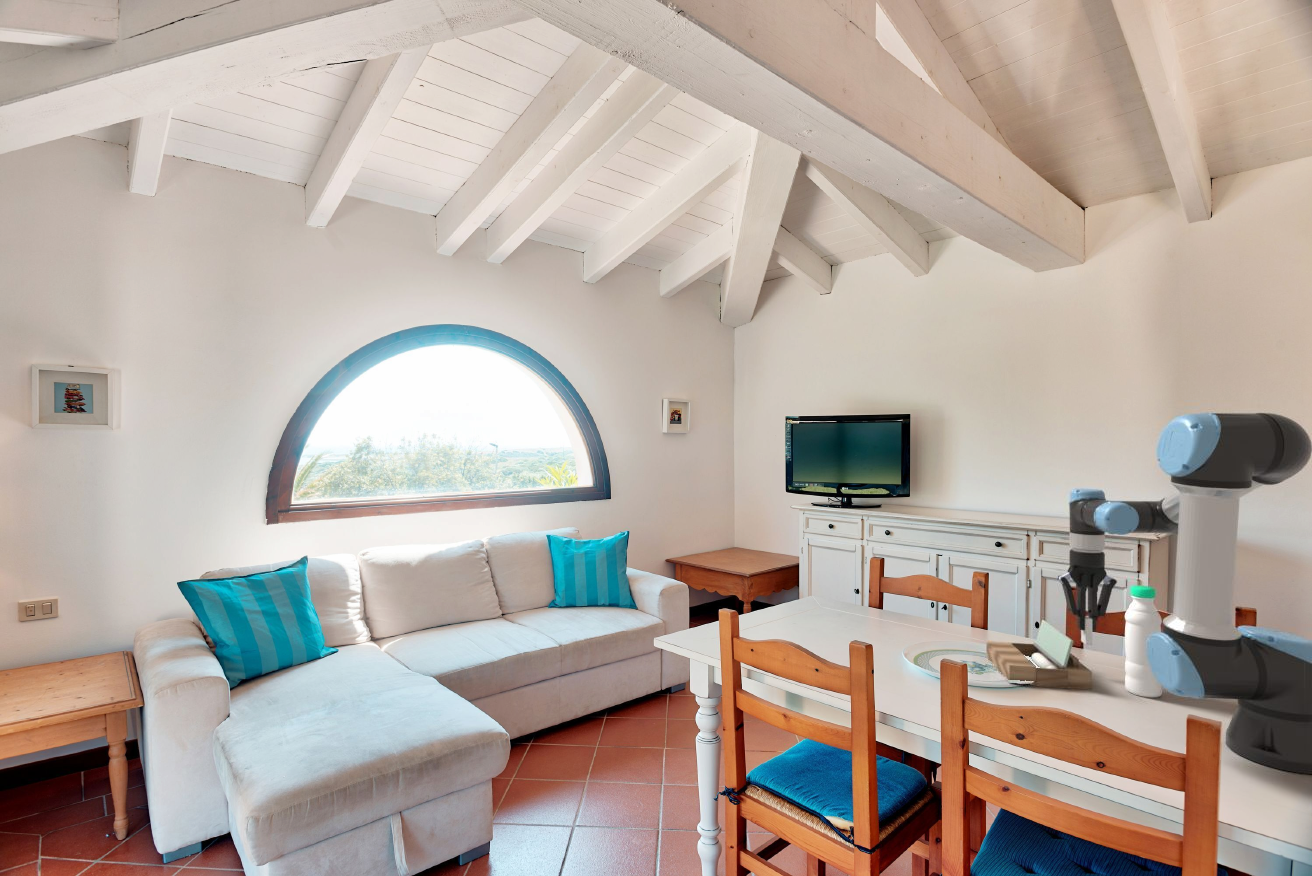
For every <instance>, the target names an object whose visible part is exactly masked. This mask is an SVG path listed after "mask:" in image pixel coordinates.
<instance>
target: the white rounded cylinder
mask: <svg viewBox="0 0 1312 876" xmlns="http://www.w3.org/2000/svg"><path fill="white" fill-rule="evenodd" d="M1031 659H1032V661H1033V662H1034V663H1035V664H1036V665H1037V666H1038V667H1040V668H1049V669H1058V668H1057V667H1055V666H1054V665H1053V664H1052V663H1051V662H1050V661H1049V660H1047V659H1046V658H1045V657H1044V656H1043V655H1042V654H1040V653H1034V654H1033V655H1032V657H1031Z"/></svg>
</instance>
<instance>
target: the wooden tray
mask: <svg viewBox="0 0 1312 876" xmlns="http://www.w3.org/2000/svg"><path fill="white" fill-rule="evenodd" d="M985 642H986V645H985V646H986V654H985V656H986V659H987V658H988V659H987V660H988V661H989V660H990V661H991V662H992V663H993V664H994V665H995V667H996V668H997V669H998V670H999V671H1000V672H1001V673H1000V672H999V671H998V670H997V669H996V668H995V667H994V668H995V669H996V670H997V671H998V672H999V673H1000V674H1001V675H1002V674H1003V676H1004V677H1006V678H1007V679H1008V680H1020V681H1025V680H1026V681H1034V682H1033V683H1032V684H1030V685H1029V686H1036V687H1043V688H1044V687H1045V688H1056V689H1057V688H1060V689H1083V690H1092V670H1091V669H1090V668H1088V667H1087V666H1085V665H1084V664H1083V663H1082V662H1080V659H1079V658H1077V657H1076V656H1075V655H1074V654H1072V653H1071V652H1070V655H1069V658H1068V662H1067V665H1066V668H1065V669H1061V668H1059V667H1058V666H1057V665H1056V664H1055V663H1054V662H1052V661H1051V660H1050V659H1049V658H1048V657H1047V656H1045V655H1044V654H1043V653H1042V652H1041V651H1040V650H1038V649H1037V648H1036V647H1035V646H1034V645H1033V643H1023V642H1022V643H1020V642H1009V641H1008V642H1007V641H993V640H986V641H985ZM1034 653H1040V654H1042V655H1043V656H1044V657H1045V658H1046V659H1047V660H1049V661H1050V662H1051V663H1052V664H1053V665H1054V666H1055V667H1057V668H1058V669H1049V668H1036V666H1035V665H1034V664H1033V663H1032V662H1031V661H1030V660H1028V659H1027V658H1026V657H1025V656H1029V657H1032V655H1033V654H1034ZM1024 655H1025V656H1024ZM990 661H989V662H990ZM991 662H990V663H991ZM992 663H991V664H992ZM993 664H992V665H993ZM994 665H993V666H994ZM1003 676H1002V677H1003ZM1004 677H1003V678H1004Z"/></svg>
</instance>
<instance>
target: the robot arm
mask: <svg viewBox="0 0 1312 876" xmlns="http://www.w3.org/2000/svg"><path fill="white" fill-rule="evenodd" d="M1311 455H1312V440H1311V438H1310V436H1309V434H1308V433H1307V431H1306V430H1305V429H1304V428H1303V426H1301V425H1300V424H1299V423H1297V421H1295V420H1294V419H1291V418H1289V417H1287V416H1284V415H1282V414H1277V413H1271V412H1270V413H1269V412H1256V413H1253V412H1252V413H1249V412H1248V413H1246V412H1243V413H1242V412H1237V413H1235V412H1232V413H1231V412H1229V413H1228V412H1227V413H1226V412H1225V413H1223V412H1220V413H1219V412H1214V413H1213V412H1200V413H1188V414H1183V415H1182V414H1181V415H1180V416H1177V417H1175V418H1173V419H1172V420H1171V421H1170V422H1169V423H1168V424H1166V426H1165V427H1164V428H1163V430H1162V431H1161V433H1160V435H1159V438H1158V441H1157V447H1156V459H1157V462H1159V467H1160V469H1161V470H1162V472H1164V473H1165V474H1166V475H1168V476H1170V484H1171V485H1172V486H1173V487H1174V488H1176V489H1177V490H1175V491H1174V492H1172V493H1170V494H1169V495H1167V496H1165V497H1164V498H1161V499H1160V500H1154V501H1153V500H1144V501H1143V500H1142V501H1141V500H1140V501H1139V500H1108V499H1106V495H1105V492H1104V491H1103V490H1102V489H1098V488H1073V489H1072V490H1070V493H1069V494H1070V495H1069V501H1068V505H1069V506H1068V507H1069V547H1070V548H1071V549H1070V550H1069V557H1068V558H1069V559H1068V560H1069V563H1068V564H1069V568H1068V569H1067V573H1065V574H1063V575H1060V574H1059V575H1058V576H1057V580H1058V581H1059V582H1060V584H1061V586H1062V590H1063V593H1064V598H1065V601H1066V606H1067V608H1068V609H1067V610H1068V612H1069V613H1071V614H1072V615H1074V616H1076V618H1077V619H1076V620H1077V623H1076V624H1077V626H1076V627H1077V628H1078V630H1080V636H1081V637H1080V641H1081V643H1083V644H1085V645H1087V646H1088V645H1089V646H1090V645H1091V646H1092V645H1093V632H1095V631H1097V620H1098V619H1099V617H1105V616H1106V612H1107V610H1108V607H1109V606H1108V605H1109V603H1110V598H1111V594H1112V591H1113V588H1114V587H1115V586H1116V584H1117V583H1118V581H1117V580H1116V579H1115V578H1113V577H1111V576H1109V575H1108V574H1107V571H1106V569H1105V566H1106V561H1105V560H1106V559H1105V557H1106V553H1105V552H1104V550H1106V537H1105V536H1106V535H1105V534H1106V533H1108V534H1109V535H1118V536H1124V535H1125V536H1126V535H1128V534H1171V535H1177V541H1176V559H1175V574H1174V575H1175V576H1174V577H1175V578H1174V592H1173V593H1174V594H1173V611H1172V613H1171V614H1170V615H1168V616H1166V617H1164V618H1163V619H1162V628H1161V632H1157V633H1154V634H1151V635H1150V637H1149V638H1148V640H1147V644H1146V652H1147V658H1148V662H1149V665H1150V667H1151V670H1152V672H1153V673H1154V675H1155V677H1156V679H1157V680H1158V682H1159V683H1160V684H1161V685H1162V688H1164V689H1165V691H1167V692H1169V693H1170V694H1172V695H1175V696H1177V697H1183V698H1184V697H1185V698H1192V699H1196V700H1201V699H1214V700H1216V699H1217V700H1219V699H1220V700H1237V703H1236V704H1237V705H1236V706H1237V707H1236V709H1235V711H1234V713H1233V715H1232V717H1231V719H1230V721H1229V722H1230V723H1228V726H1227V728H1226V731H1225V745H1226V746H1227V748H1229V750H1231V751H1232V752H1233V753H1235V754H1237V755H1239V756H1242V757H1243V758H1245V759H1247V760H1249V761H1253V762H1255V763H1257V764H1260V765H1264V766H1267V767H1270V768H1274V769H1278V770H1283V771H1287V772H1293V773H1297V774H1305V775H1312V640H1309V639H1307V638H1304V637H1302V636H1299V635H1294V634H1292V633H1287V632H1284V631H1283V632H1282V631H1279V630H1274V629H1270V628H1266V627H1260V626H1259V627H1258V626H1252V625H1240V626H1237V627H1236V626H1235V625H1234V624H1233V623H1232V618H1233V617H1232V616H1233V604H1234V603H1233V602H1234V589H1235V588H1234V587H1235V585H1234V584H1235V573H1236V556H1237V543H1238V541H1237V540H1238V525H1239V514H1240V513H1239V512H1240V500H1241V499H1240V498H1242V497H1244V496H1246V495H1248V494H1249V493H1251V492H1253V491H1255V490H1256V489H1259V488H1261V487H1262V486H1274V485H1278V484H1280V483H1282V482H1284V481H1286V480H1288V479H1290V478H1292V477H1294V476H1295V475H1296V474H1299V472H1301V471H1302V470H1303V469H1304V468H1305V467H1306V466H1307V464H1308V463H1309V461H1310V459H1311V457H1312V456H1311ZM1071 581H1073V582H1074V584H1075V589H1076V599H1075V596H1074V592H1073V589H1072V585H1071V584H1070V583H1071ZM1102 582H1103V584H1102V587H1101V591H1100V594H1099V598H1098V592H1099V586H1100V584H1101V583H1102ZM1086 606H1087V607H1086ZM1086 613H1087V614H1086Z"/></svg>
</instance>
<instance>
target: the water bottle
mask: <svg viewBox="0 0 1312 876" xmlns="http://www.w3.org/2000/svg"><path fill="white" fill-rule="evenodd" d="M1130 595H1131V596H1130V597H1131V598H1132V602H1131V603H1130V604H1129V606H1128V608H1127V610H1126V611H1125V614H1124V620H1125V629H1124V651H1125V653H1124V655H1125V663H1124V671H1125V678H1124V688H1125V690H1126V691H1127V692H1128V693H1131V694H1132V695H1136V696H1140V697H1143V698H1154V699H1155V698H1158V697H1160V696H1161V695H1162V694H1163V686H1162V685H1161V684H1160V683H1159V682H1158V680H1157V679H1156V677H1155V675H1154V673H1153V672H1152V670H1151V667H1150V665H1149V662H1148V658H1147V652H1146V644H1147V640H1148V638H1149V637H1150V635H1151V634H1154V633H1157V632H1162V628H1161V627H1162V626H1161V625H1162V624H1163V619H1162V617H1161V615H1160V613H1159V612H1158V609H1157V607H1156V605H1155V604H1154V600H1155V599H1156V589H1155V588H1154V587H1151V586H1147V585H1131V587H1130Z"/></svg>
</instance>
